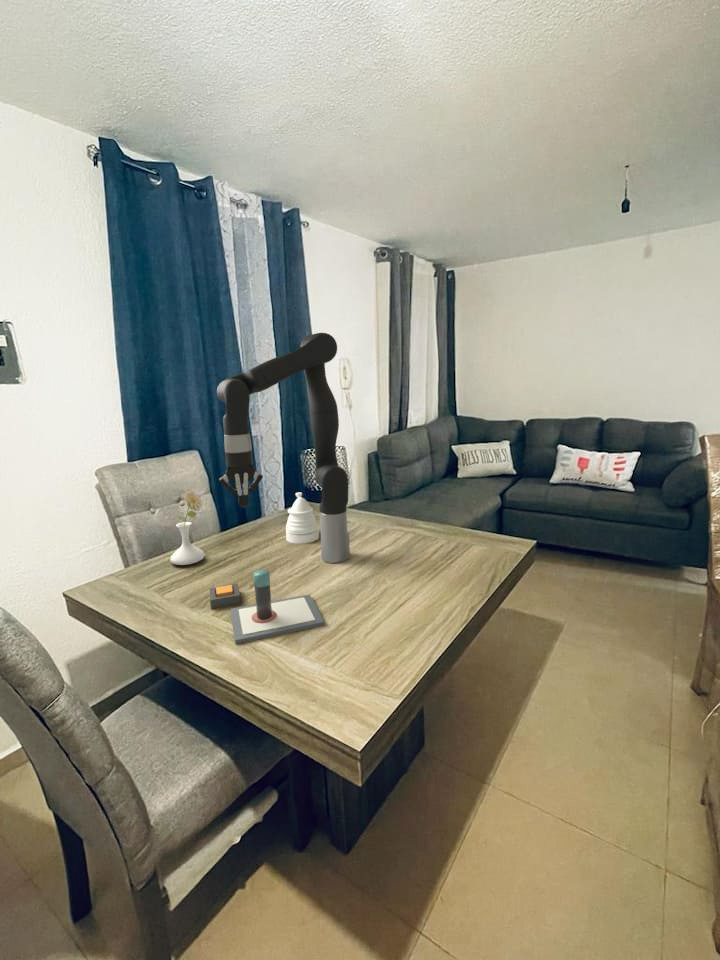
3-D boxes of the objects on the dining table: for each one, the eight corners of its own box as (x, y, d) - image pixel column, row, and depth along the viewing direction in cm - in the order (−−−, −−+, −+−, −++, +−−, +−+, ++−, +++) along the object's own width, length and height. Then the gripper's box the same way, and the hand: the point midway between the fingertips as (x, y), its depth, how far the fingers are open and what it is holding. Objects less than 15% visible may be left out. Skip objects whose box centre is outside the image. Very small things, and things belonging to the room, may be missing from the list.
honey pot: (282, 535, 179) (279, 492, 175) (312, 530, 185) (310, 488, 181) (291, 545, 168) (288, 500, 164) (323, 540, 173) (321, 495, 169)
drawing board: (309, 597, 127) (309, 592, 127) (324, 625, 113) (324, 620, 112) (230, 612, 120) (230, 607, 120) (235, 644, 105) (234, 638, 105)
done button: (232, 591, 130) (231, 584, 129) (233, 597, 126) (232, 591, 125) (216, 593, 128) (215, 587, 128) (217, 600, 124) (216, 594, 124)
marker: (271, 610, 118) (267, 568, 115) (273, 618, 114) (270, 574, 111) (255, 613, 116) (252, 571, 114) (257, 621, 113) (254, 577, 110)
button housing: (238, 591, 132) (237, 583, 132) (240, 603, 125) (240, 595, 124) (210, 596, 130) (209, 588, 129) (211, 608, 122) (210, 600, 122)
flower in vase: (184, 570, 148) (176, 498, 142) (163, 564, 154) (154, 494, 148) (215, 557, 159) (208, 489, 153) (195, 551, 165) (187, 486, 159)
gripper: (259, 446, 134) (264, 500, 138) (214, 449, 130) (220, 506, 134) (263, 449, 127) (268, 507, 131) (215, 453, 123) (221, 512, 127)
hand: (243, 506), depth 133 cm, fingers closed
